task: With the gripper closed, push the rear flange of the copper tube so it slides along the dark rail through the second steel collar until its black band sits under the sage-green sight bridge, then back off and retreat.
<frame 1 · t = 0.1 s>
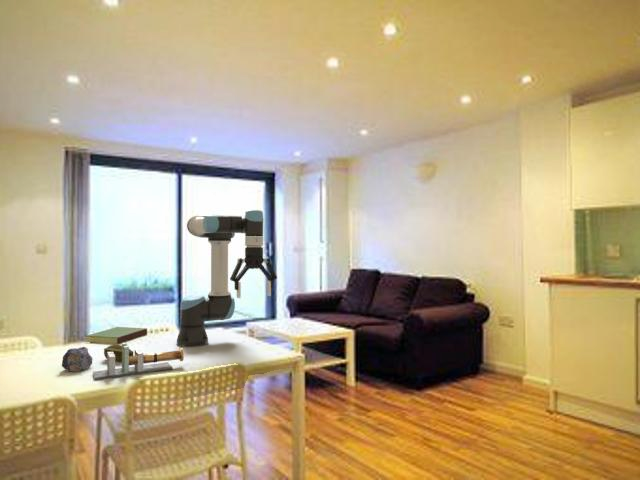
hand: (253, 296, 194), 28 cm above the table, fingers open, 13 cm apart
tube: (155, 357, 184), point 5 cm above the table, slide at 0.0 cm
collar rail: (133, 372, 180), on the table
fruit: (118, 360, 197), on the table
hardcover book: (118, 339, 242), on the table
rock: (77, 370, 183), on the table
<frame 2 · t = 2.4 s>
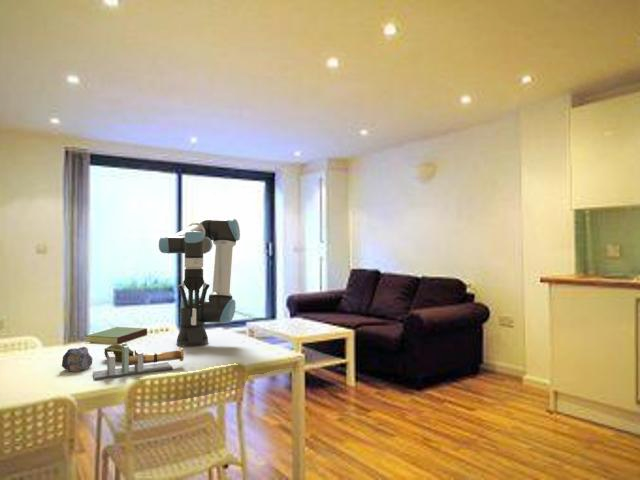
hand: (193, 324, 191), 17 cm above the table, fingers closed
nothing on the table moved.
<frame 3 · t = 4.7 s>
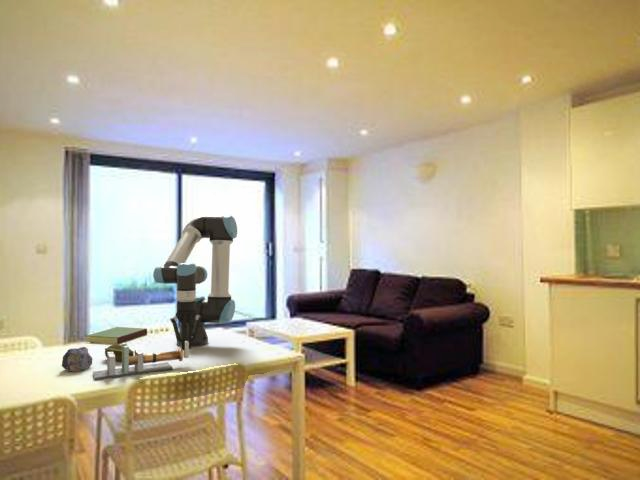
hand: (186, 357, 190), 3 cm above the table, fingers closed
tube: (154, 357, 184), point 5 cm above the table, slide at 0.4 cm, touching gripper
everything else where it was.
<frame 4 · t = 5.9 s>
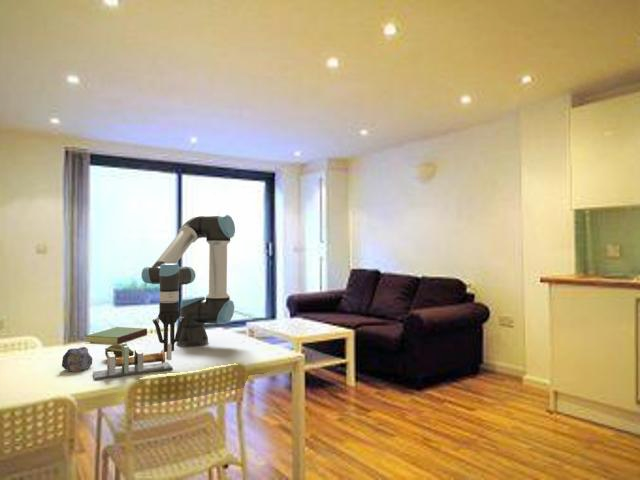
hand: (168, 359, 186), 3 cm above the table, fingers closed
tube: (136, 360, 180), point 5 cm above the table, slide at 7.3 cm, touching gripper
everything else where it was.
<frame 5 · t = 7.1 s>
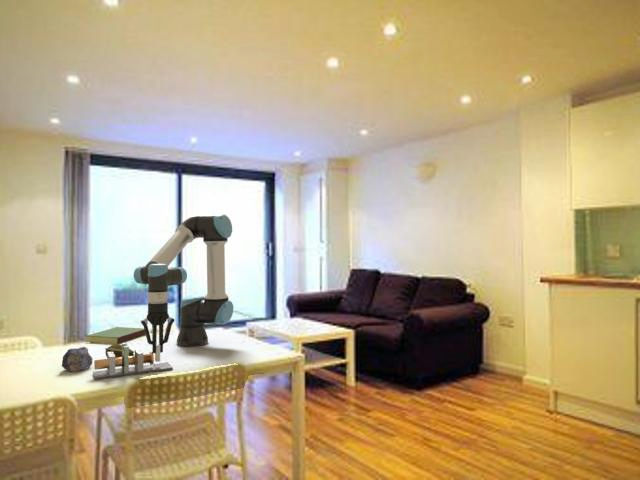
hand: (157, 360, 184), 3 cm above the table, fingers closed
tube: (124, 361, 178), point 5 cm above the table, slide at 11.7 cm, touching gripper
everything else where it was.
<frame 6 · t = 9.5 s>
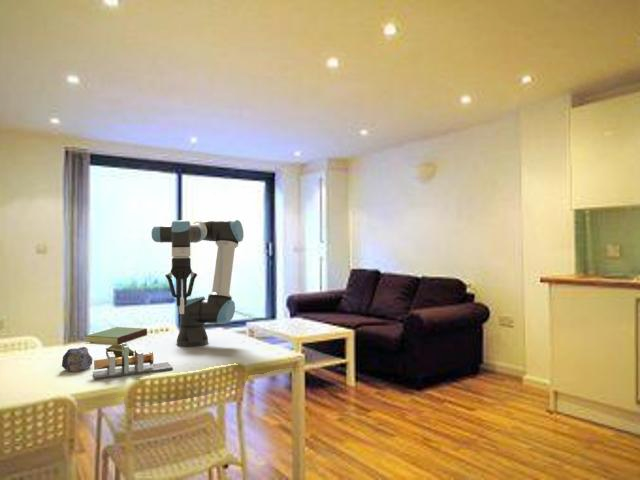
hand: (181, 313, 192), 21 cm above the table, fingers closed
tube: (124, 361, 178), point 5 cm above the table, slide at 11.8 cm
everything else where it was.
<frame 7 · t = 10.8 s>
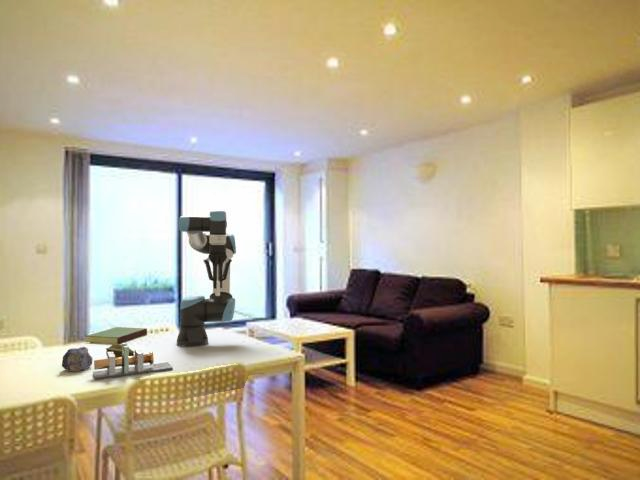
hand: (217, 295, 211), 26 cm above the table, fingers closed
nothing on the table moved.
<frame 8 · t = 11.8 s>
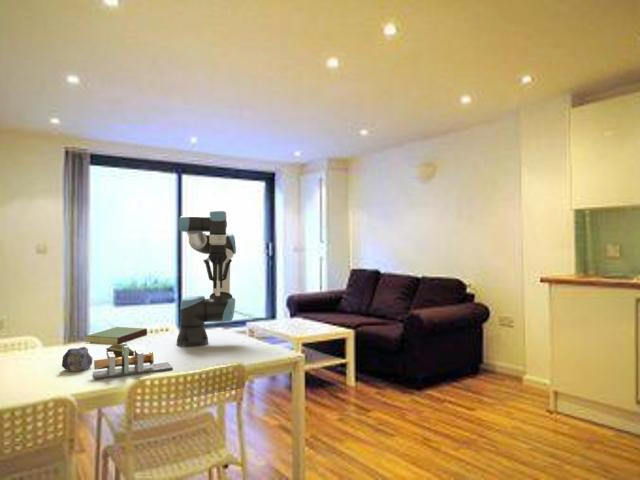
hand: (217, 295, 211), 26 cm above the table, fingers closed
nothing on the table moved.
at the end: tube slide at 11.8 cm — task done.
